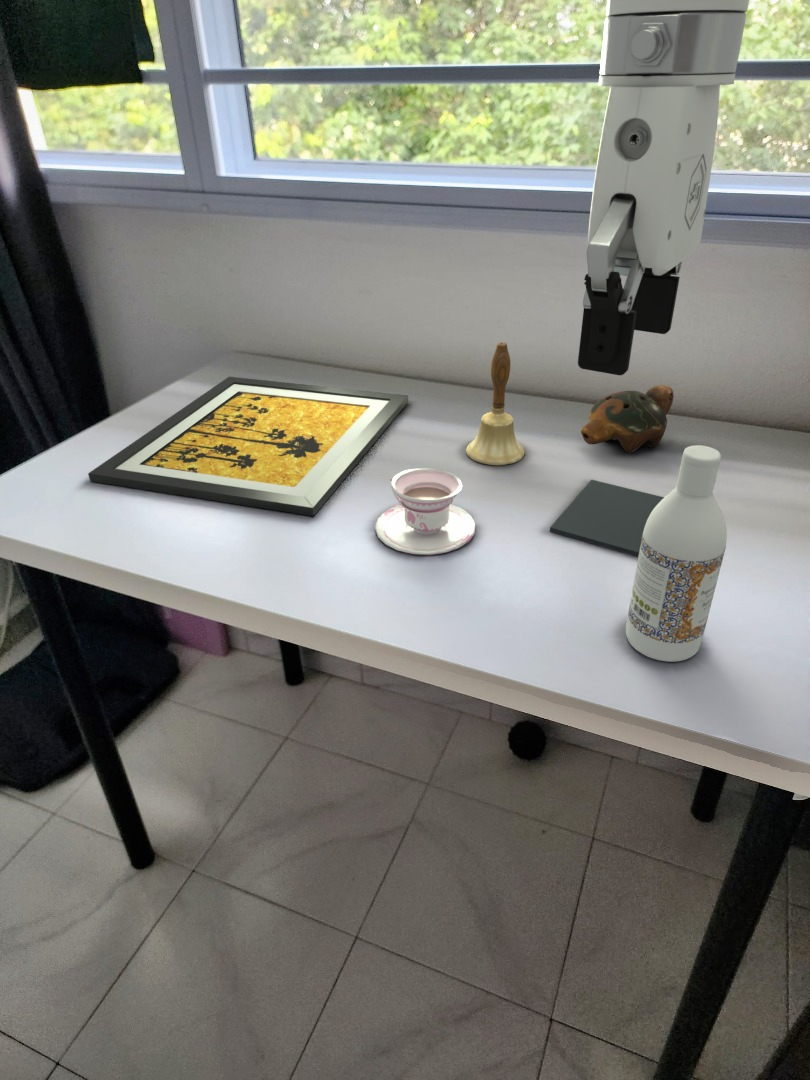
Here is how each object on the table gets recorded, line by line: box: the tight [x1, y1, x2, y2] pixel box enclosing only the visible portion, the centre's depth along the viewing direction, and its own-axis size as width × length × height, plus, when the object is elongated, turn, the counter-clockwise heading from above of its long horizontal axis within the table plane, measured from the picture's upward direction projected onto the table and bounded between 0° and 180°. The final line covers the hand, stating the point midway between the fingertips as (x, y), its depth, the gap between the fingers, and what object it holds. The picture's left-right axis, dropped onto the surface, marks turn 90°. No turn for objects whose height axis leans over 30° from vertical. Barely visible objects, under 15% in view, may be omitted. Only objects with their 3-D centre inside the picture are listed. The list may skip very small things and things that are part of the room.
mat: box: [549, 479, 665, 558], centre depth 91 cm, size 14×14×1 cm
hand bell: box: [465, 342, 525, 466], centre depth 103 cm, size 8×8×16 cm
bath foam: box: [625, 444, 728, 663], centre depth 67 cm, size 7×7×20 cm
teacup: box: [374, 467, 476, 556], centre depth 88 cm, size 12×12×6 cm
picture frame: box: [87, 376, 409, 517], centre depth 112 cm, size 38×1×33 cm
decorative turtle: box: [580, 385, 675, 454], centre depth 107 cm, size 10×15×8 cm, turn 122°
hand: (626, 349), depth 52 cm, fingers open, 9 cm apart
